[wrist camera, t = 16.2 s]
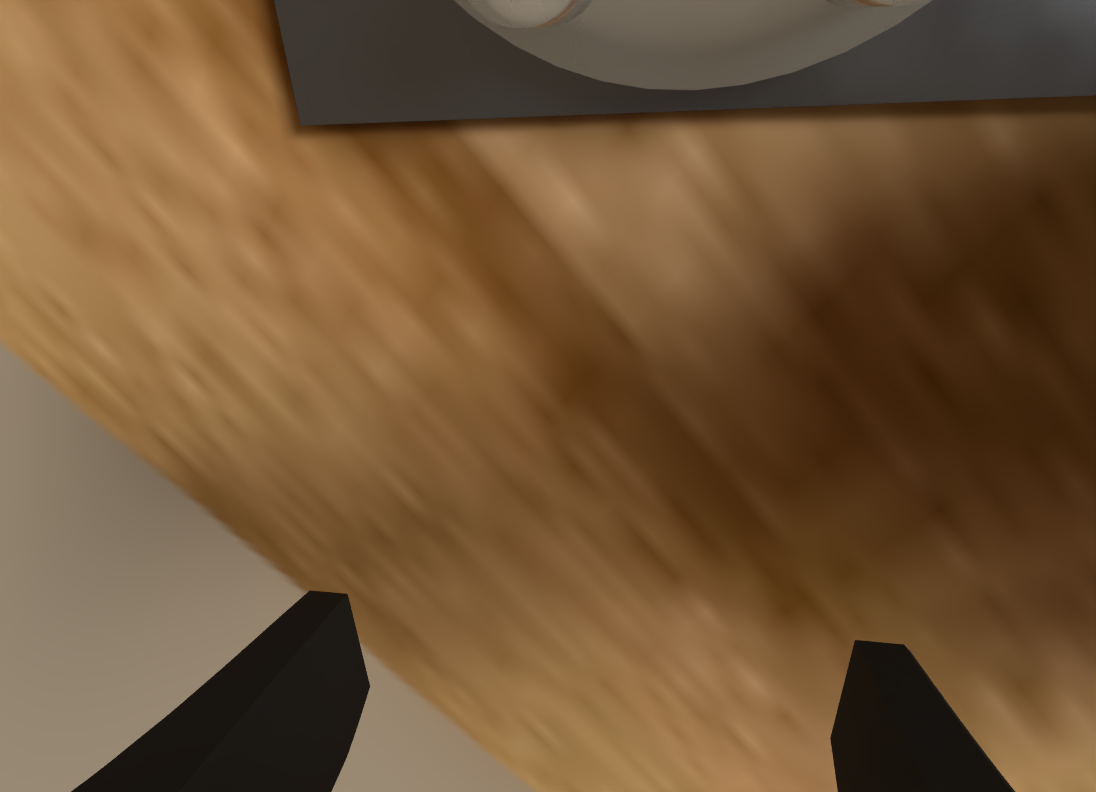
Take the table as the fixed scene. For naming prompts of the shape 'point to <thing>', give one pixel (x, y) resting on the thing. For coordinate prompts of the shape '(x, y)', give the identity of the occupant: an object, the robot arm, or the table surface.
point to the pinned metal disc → (687, 36)
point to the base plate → (547, 90)
